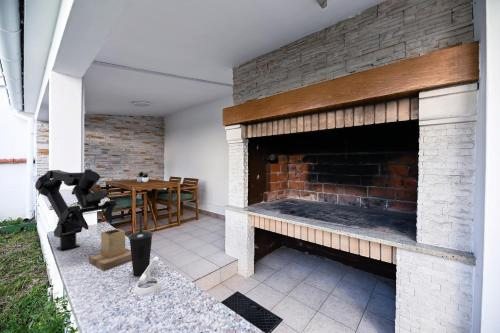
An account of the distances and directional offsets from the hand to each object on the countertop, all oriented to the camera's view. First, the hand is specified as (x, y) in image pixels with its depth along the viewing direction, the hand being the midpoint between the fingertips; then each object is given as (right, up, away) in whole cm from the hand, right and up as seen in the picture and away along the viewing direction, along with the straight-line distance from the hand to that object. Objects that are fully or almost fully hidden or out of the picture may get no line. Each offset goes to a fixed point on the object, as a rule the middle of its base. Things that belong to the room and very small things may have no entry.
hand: (100, 225), depth 89 cm
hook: (+30, -13, -22) cm, 39 cm away
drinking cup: (+23, -13, -13) cm, 30 cm away
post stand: (+7, -13, -3) cm, 15 cm away
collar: (+7, -10, -3) cm, 13 cm away
